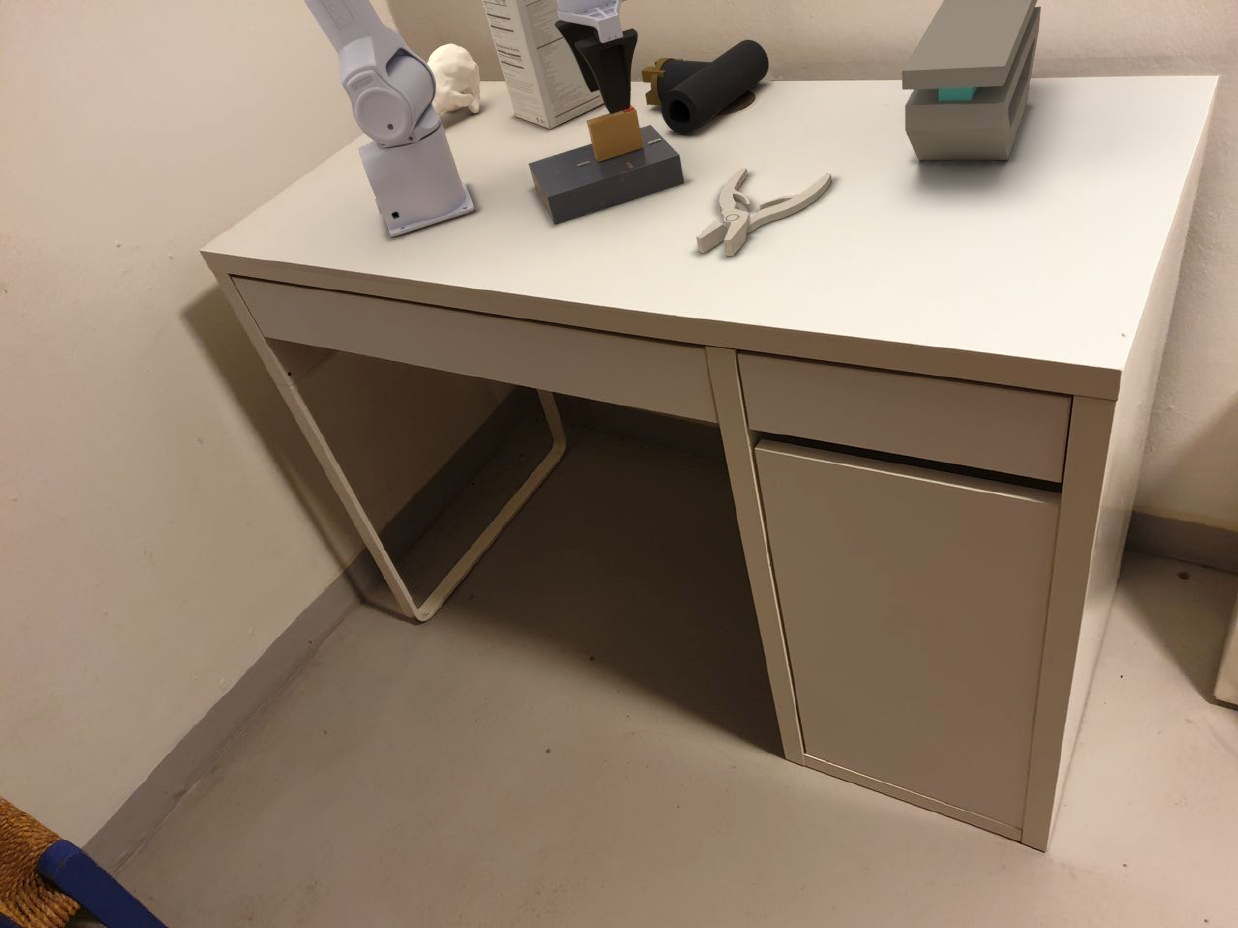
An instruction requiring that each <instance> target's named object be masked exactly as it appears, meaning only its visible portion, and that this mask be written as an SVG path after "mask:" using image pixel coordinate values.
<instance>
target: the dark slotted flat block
mask: <svg viewBox="0 0 1238 928" xmlns="http://www.w3.org/2000/svg"><path fill="white" fill-rule="evenodd" d="M640 131H641V136H642V142H643V148H641V149H638V150H635V151H632V152H629V153H625V154H622V155H619V156H616V157H613V158H610V159H607V160H603V161H600V162H598V161H597V159H596V158H595V155H594V151H593V146H592V143H589V144H586V145H582V146H580V147H576V148H574V149H570V150H567V151H564V152H561V153H558V154H554V155H551V156H548V157H544V158H541V159H538V160H535V161H531V162H529V163H528V168H529V171H530V174H531V178H532V182H533V186H534V188H535V191H536V192H537V194H538V196H539V198H540V200H541V202H542V204H543V206H544V207H545V209H546V211H547V213H548V214H549V217H550V218H551V220H552V222H553V224H554V225H557V224H561V223H563V222H567V221H570V220H574V219H576V218H580V217H583V216H585V215H589V214H592V213H595V212H597V211H598V212H599V211H601V210H604V209H607V208H610V207H613V206H616V205H619V204H622V203H626V202H628V201H632V200H634V199H635V200H636V199H638V198H641V197H644V196H647V195H650V194H653V193H656V192H660V191H662V190H667V189H669V188H672V187H675V186H678V185H681V184H684V183H685V180H684V173H683V168H682V167H683V166H682V161H681V155H680V153H678V152H677V151H676V150H675V148H673V146H672V145H671V144H670V143H669V142H668V141H667V140H666V139H665V138H664V137H663V136H662V135H661V134H660V133H659V131H657V130H656V129H655V128H654V127H653V126H652V125H651V124H649V125H645V126H641V127H640Z"/></svg>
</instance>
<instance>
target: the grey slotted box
mask: <svg viewBox="0 0 1238 928" xmlns="http://www.w3.org/2000/svg"><path fill="white" fill-rule="evenodd" d="M1037 2H1038V0H943V1H942V3H941V5H940V6H939V8H938V10H937V11H936V12H935V14H934V16H933V18H932V19H931V21H930V23H929V25H928V27H927V28H926V30H925V32H924V33H923V35H922V37H921V39H920V40H919V41H918V43H917V45H916V47H915V49H914V50H913V52H912V53H911V55H910V57H909V58H908V60H907V62H906V63H905V65H904V67H903V69H902V71H901V77H902V78H901V90H902V91H904V90H907V91H908V90H909V91H910V90H912V92H911V94H910V96H909V97H908V99H907V101H906V103H905V105H904V130H905V133H906V135H907V137H908V140H909V142H910V144H911V146H912V148H913V151H914V153H915V155H916V157H917V160H918V161H1008V160H1009V158H1010V155H1011V152H1012V149H1013V146H1014V143H1015V141H1016V138H1017V134H1018V132H1019V130H1020V126H1021V124H1022V120H1023V119H1024V115H1025V112H1026V109H1027V105H1028V97H1029V93H1030V92H1029V91H1030V85H1031V79H1032V73H1033V67H1034V61H1035V56H1036V55H1035V54H1036V51H1037V49H1036V48H1037V44H1038V38H1039V33H1040V21H1041V10H1042V6H1036V5H1037Z"/></svg>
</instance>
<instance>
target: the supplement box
mask: <svg viewBox="0 0 1238 928" xmlns="http://www.w3.org/2000/svg"><path fill="white" fill-rule="evenodd" d="M481 3H482V7H483V10H484V14H485V17H486V20H487V24H488V27H489V31H490V34H491V37H492V40H493V45H494V48H495V51H496V54H497V57H498V61H499V64H500V68H501V72H502V76H503V78H504V81H505V84H506V85H505V86H506V88H507V91H508V95H509V98H510V103H511V106H512V109H513V112H514V116H515V117H516V118H518V119H521V120H524V121H527V122H530V123H533V124H535V125H537V126H540V127H544V128H546V129H549V130H552V129H553V128H556V127H558V126H560V125H562V124H564V123H566V122H568V121H570V120H573V119H574V118H576V117H578V116H580V115H583V114H584V113H586V112H589V111H591V110H593V109H594V108H597V107H599V106H601V105H603V104H604V102H603V99H602V96H601V94H600V91H599V90H598V91H595V92H592V93H591V92H590V90H589V89H588V87H587V85H586V83H585V81H584V78H583V76H582V73H581V71H580V69H579V66H578V64H577V61H576V59H575V57H574V55H573V53H572V51H571V49H570V47H569V45H568V43H567V42H566V40H565V39H564V37H563V36H562V34H561V33H560V32H559V30H558V29H557V28H556V27H555V23H556V22H557V21H559V20H560V19H559V16H558V12H557V8H558V3H557V0H481Z"/></svg>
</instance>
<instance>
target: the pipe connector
mask: <svg viewBox="0 0 1238 928" xmlns="http://www.w3.org/2000/svg"><path fill="white" fill-rule="evenodd" d="M769 64H770V62H769V56H768V54H767V51H766V50H765V49H764V47H763V46H762V45H761V44H760V43H759V42H758V41H755V40H753V39H744V40H741V41H739V42H738V43H737V44H735V45H734V46H733V47H731V48H729V49H728V50H726V51H725V52H724V53H722V54H721V55H719V56H718V57H716V58H715V59H714V60H712V61H702V60H701V61H700V60H685V59H683V58H672V57H661V58H658V59H657V60H656V61H654V66H647V67H645V68H644V69H642V70H641V78H642V83H645V84H647V83H648V84H650V90H648V91H647V92H645V93H644V95H645V100H646V105H648V106H656V107H657V106H658V107H660V112H661V117H662V119H663V121H664V123H665V125H667V127H668V128H669V129H670V130H671V131H672V132H674V133H675V134H678V135H682V136H687V135H690V134H692V133H693V132H695V131H696V130H698V128H700V127H701V126H703V125H704V124H705V123H707V122H708V121H709V120H710V119H712V118H713V117H715V116H716V115H717V114H718V113H720V112H721V111H723V110H724V109H725V108H726V107H728V106H730V104H732V103H733V102H735V100H737V99H739V98H740V97H741V96H742V95H744V94H745V93H746V92H748V91H749V90H750V89H752V88H754V86H756V85H757V84H758V83H760V82H761V81H762V80H763V79H764V78H766V76H767V74H768V73H769V67H770V65H769Z"/></svg>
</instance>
